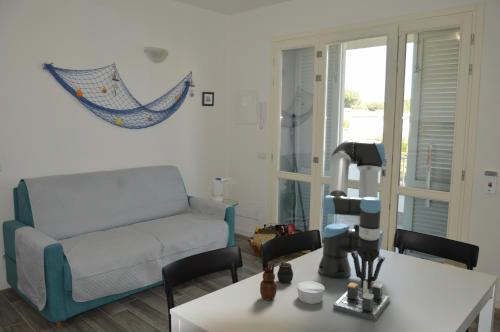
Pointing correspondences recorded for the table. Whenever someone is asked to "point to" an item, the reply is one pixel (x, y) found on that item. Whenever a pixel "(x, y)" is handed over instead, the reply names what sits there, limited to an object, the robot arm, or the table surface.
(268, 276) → the wooden figurine
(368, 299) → the breaker near
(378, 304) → the panel
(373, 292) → the block
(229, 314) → the table surface
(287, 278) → the mate gourd
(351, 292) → the block
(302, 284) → the ramekin
